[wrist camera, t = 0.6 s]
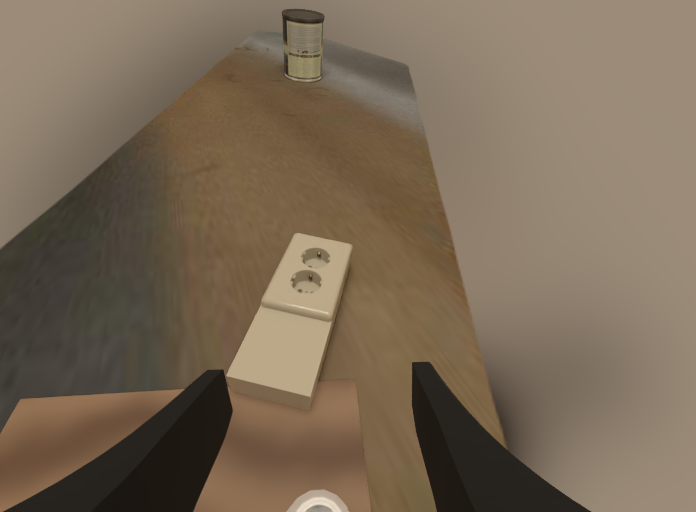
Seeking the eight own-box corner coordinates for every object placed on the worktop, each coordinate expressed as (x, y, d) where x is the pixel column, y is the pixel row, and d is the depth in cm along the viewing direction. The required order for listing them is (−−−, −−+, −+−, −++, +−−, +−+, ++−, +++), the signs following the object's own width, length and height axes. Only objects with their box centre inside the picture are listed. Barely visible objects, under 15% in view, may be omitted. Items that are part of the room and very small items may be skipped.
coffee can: (276, 72, 90) (273, 9, 80) (306, 67, 96) (306, 8, 86) (299, 84, 85) (299, 19, 75) (329, 78, 91) (333, 16, 81)
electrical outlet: (224, 370, 26) (294, 230, 39) (231, 391, 29) (295, 254, 42) (310, 392, 26) (353, 243, 39) (309, 411, 29) (350, 266, 41)
